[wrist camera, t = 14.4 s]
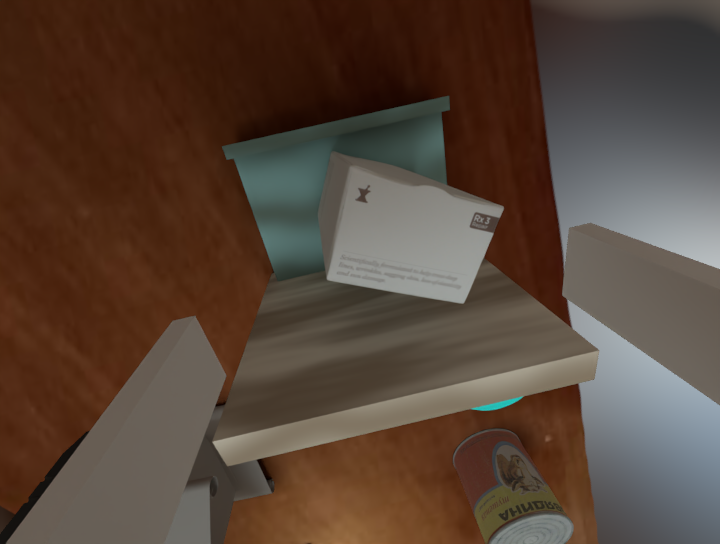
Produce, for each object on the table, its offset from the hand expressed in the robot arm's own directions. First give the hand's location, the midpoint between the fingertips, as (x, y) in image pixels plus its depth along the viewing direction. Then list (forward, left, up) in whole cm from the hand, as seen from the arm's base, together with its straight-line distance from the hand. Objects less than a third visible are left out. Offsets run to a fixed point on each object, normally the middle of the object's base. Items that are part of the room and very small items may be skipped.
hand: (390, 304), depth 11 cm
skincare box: (0, +2, -20) cm, 20 cm away
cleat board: (+1, 0, -22) cm, 22 cm away
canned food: (+46, +13, -22) cm, 52 cm away
